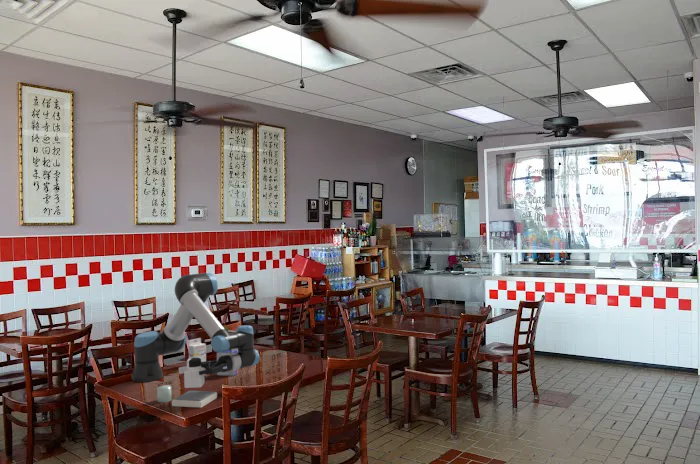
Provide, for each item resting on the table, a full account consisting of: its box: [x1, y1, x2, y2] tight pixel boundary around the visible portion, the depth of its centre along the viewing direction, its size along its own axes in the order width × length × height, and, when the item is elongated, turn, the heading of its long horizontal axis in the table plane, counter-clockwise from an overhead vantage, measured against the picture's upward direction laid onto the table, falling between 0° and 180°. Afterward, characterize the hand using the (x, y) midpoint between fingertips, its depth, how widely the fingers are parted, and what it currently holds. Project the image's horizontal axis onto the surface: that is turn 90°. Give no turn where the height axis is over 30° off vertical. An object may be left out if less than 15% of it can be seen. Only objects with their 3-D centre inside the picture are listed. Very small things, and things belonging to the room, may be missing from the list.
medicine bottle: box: [183, 358, 206, 389], centre depth 240 cm, size 7×7×12 cm
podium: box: [171, 390, 218, 409], centre depth 240 cm, size 14×14×3 cm
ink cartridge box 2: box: [216, 350, 239, 377], centre depth 286 cm, size 10×6×14 cm, turn 78°
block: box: [156, 384, 173, 403], centre depth 244 cm, size 6×6×6 cm
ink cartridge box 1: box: [188, 337, 207, 362], centre depth 309 cm, size 9×5×15 cm, turn 141°
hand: (185, 372), depth 237 cm, fingers closed on medicine bottle, 10 cm apart
